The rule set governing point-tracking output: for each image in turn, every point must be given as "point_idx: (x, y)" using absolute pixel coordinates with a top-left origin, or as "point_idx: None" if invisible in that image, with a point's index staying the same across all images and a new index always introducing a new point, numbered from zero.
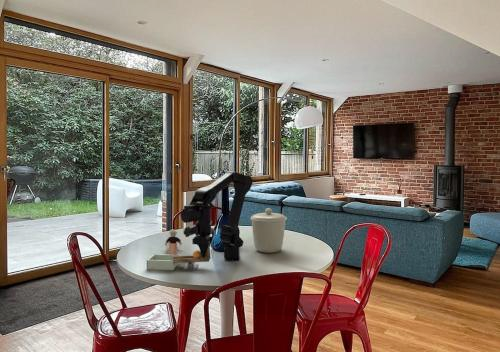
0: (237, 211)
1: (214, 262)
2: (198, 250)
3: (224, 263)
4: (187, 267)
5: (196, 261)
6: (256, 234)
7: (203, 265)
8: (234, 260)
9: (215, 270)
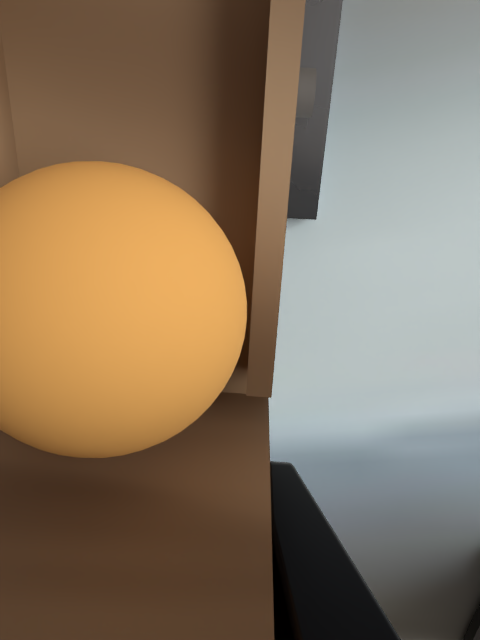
0: None
1: (448, 434)
2: (108, 431)
3: (384, 538)
4: None
5: None
6: None
7: (307, 301)
8: (471, 624)
9: None
